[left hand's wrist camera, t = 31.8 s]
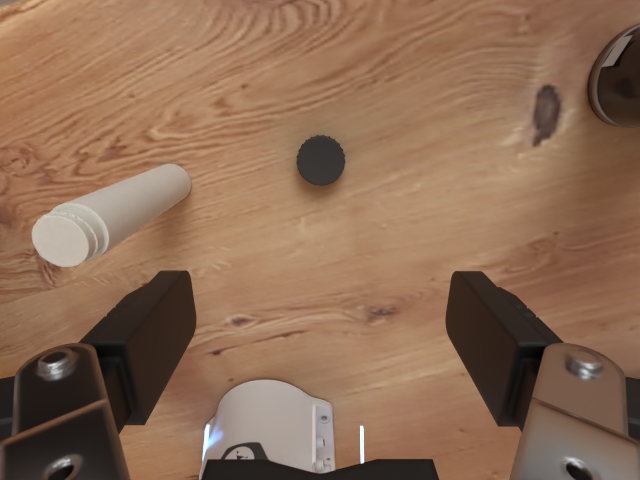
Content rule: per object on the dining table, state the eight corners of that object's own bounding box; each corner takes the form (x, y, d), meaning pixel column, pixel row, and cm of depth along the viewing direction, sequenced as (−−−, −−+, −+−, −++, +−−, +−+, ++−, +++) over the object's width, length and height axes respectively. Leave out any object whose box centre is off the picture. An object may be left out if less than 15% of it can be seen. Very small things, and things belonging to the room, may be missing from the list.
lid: (337, 186, 39) (338, 190, 37) (293, 176, 39) (292, 180, 37) (349, 141, 37) (350, 143, 35) (302, 130, 37) (302, 131, 35)
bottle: (173, 155, 38) (56, 197, 21) (199, 187, 39) (107, 250, 22) (145, 177, 39) (11, 234, 22) (171, 207, 40) (63, 283, 23)
